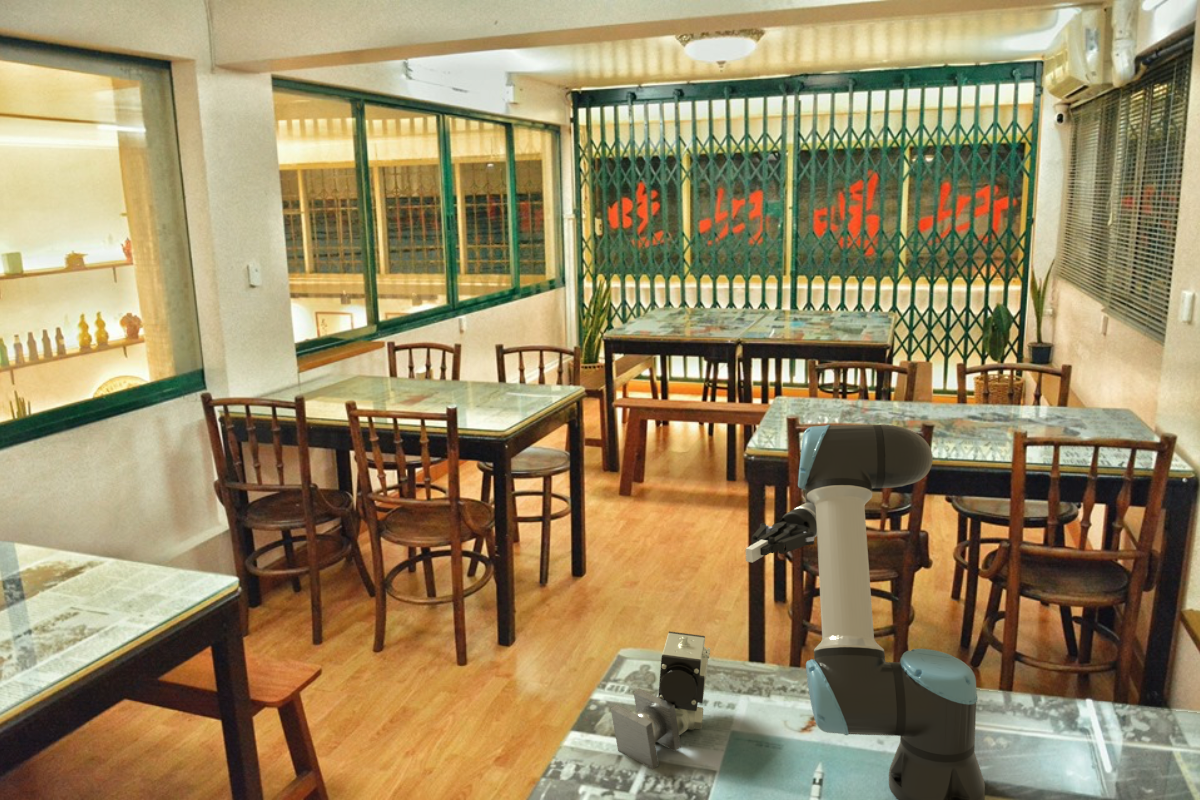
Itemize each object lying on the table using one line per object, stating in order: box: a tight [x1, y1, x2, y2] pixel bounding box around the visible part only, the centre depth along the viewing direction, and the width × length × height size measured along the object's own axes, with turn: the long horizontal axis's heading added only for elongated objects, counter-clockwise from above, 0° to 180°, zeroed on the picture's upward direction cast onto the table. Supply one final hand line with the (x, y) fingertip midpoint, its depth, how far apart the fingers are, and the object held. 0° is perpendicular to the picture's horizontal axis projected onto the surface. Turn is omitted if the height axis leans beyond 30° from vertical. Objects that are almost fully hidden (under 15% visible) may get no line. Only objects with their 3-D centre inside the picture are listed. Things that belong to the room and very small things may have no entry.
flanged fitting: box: [610, 688, 682, 770], centre depth 170 cm, size 9×8×9 cm
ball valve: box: [657, 631, 711, 736], centre depth 177 cm, size 18×8×18 cm, turn 170°
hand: (749, 555), depth 186 cm, fingers closed
